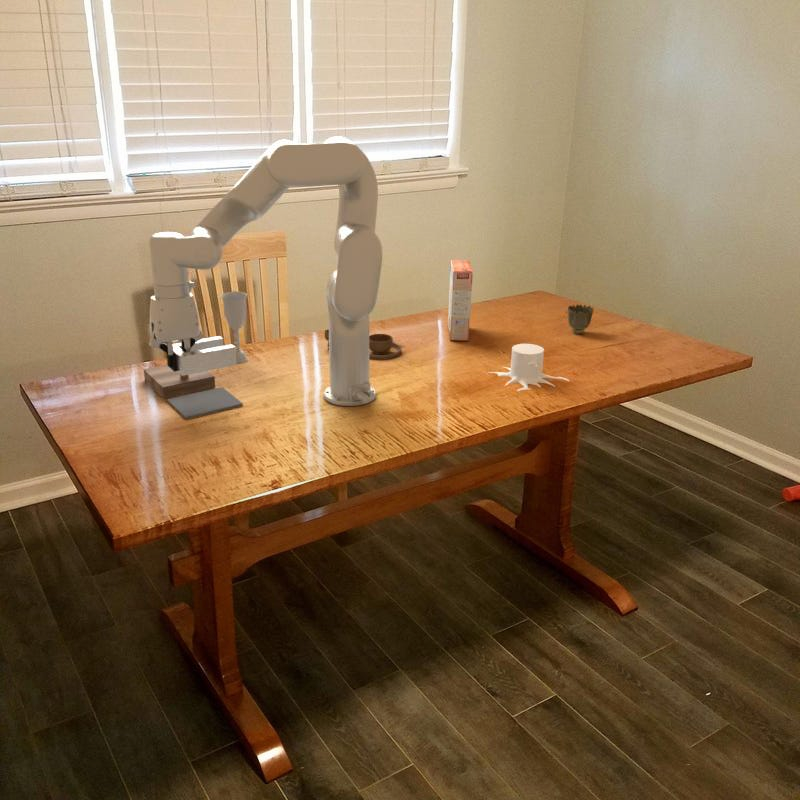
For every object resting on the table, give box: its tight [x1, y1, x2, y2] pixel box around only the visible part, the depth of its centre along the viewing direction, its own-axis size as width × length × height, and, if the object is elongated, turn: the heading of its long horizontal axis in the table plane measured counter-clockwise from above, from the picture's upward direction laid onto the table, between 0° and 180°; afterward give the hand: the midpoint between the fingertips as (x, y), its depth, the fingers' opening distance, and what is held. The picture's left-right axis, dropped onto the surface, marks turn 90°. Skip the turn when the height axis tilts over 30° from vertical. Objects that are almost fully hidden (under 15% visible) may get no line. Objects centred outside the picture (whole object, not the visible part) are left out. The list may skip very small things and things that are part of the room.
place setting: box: [324, 329, 404, 360], centre depth 224 cm, size 18×20×6 cm
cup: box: [567, 303, 594, 335], centre depth 239 cm, size 8×7×8 cm
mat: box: [166, 386, 244, 420], centre depth 188 cm, size 12×14×1 cm
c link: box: [173, 335, 237, 376], centre depth 184 cm, size 13×9×4 cm
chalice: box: [220, 291, 249, 364], centre depth 212 cm, size 7×7×18 cm
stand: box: [143, 364, 216, 399], centre depth 198 cm, size 14×13×6 cm
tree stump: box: [488, 343, 570, 392], centre depth 205 cm, size 20×19×8 cm
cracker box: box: [447, 259, 474, 342], centre depth 234 cm, size 14×6×21 cm, turn 179°
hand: (179, 368), depth 182 cm, fingers closed on c link, 2 cm apart
